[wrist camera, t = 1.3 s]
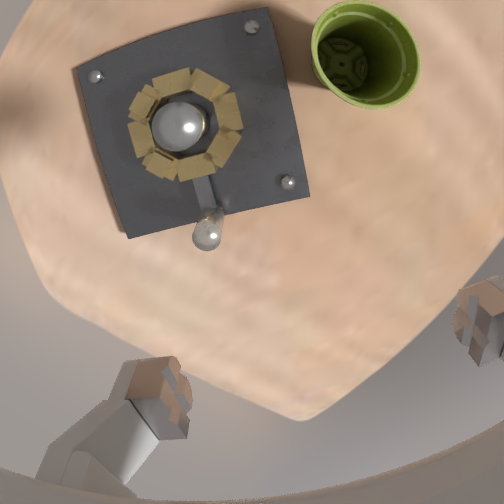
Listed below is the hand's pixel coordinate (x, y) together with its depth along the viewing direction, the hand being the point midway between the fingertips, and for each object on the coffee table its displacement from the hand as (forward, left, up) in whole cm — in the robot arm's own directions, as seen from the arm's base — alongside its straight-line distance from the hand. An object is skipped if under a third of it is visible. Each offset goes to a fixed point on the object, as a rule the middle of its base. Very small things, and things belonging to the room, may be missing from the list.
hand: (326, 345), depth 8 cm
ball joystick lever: (-3, -6, -25) cm, 26 cm away
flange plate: (-6, -6, -27) cm, 28 cm away
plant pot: (-9, +10, -27) cm, 30 cm away
